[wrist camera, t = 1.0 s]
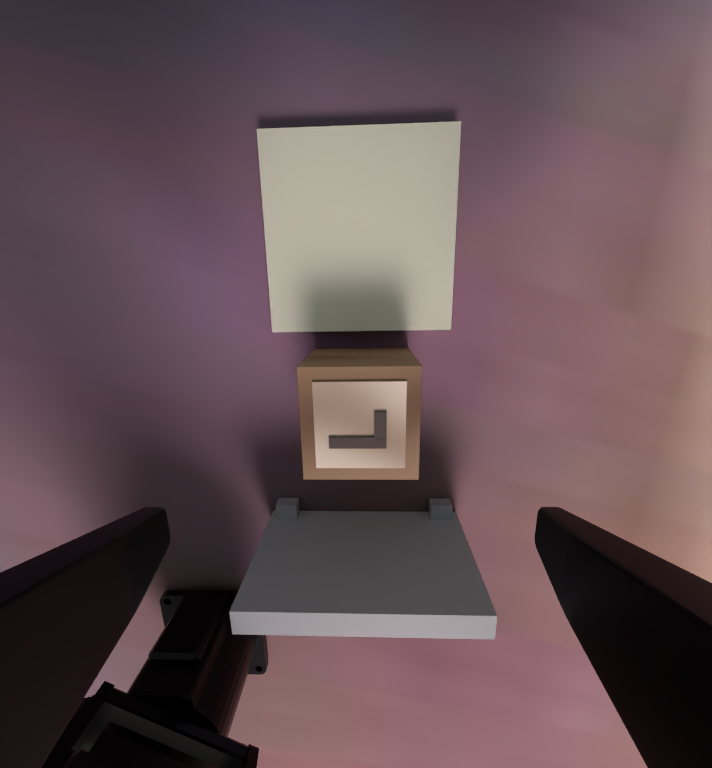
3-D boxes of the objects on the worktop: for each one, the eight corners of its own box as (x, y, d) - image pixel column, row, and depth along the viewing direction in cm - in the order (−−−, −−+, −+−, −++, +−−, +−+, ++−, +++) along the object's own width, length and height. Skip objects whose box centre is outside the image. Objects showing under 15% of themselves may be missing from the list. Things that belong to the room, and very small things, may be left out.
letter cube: (406, 434, 20) (419, 482, 15) (318, 434, 20) (302, 481, 15) (408, 347, 19) (422, 367, 14) (315, 348, 19) (295, 368, 14)
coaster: (447, 328, 18) (450, 329, 17) (276, 330, 19) (272, 332, 18) (456, 129, 16) (461, 121, 15) (261, 136, 16) (256, 128, 16)
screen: (453, 541, 21) (492, 656, 15) (276, 540, 22) (234, 650, 15) (456, 498, 21) (498, 597, 14) (272, 497, 21) (226, 593, 14)
